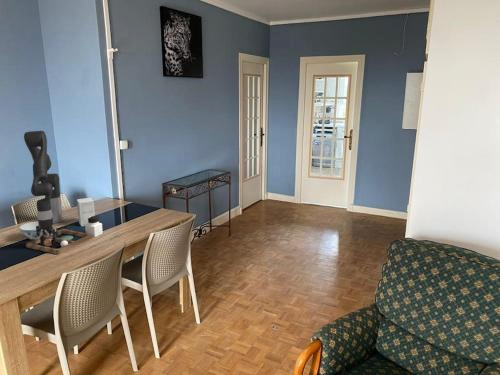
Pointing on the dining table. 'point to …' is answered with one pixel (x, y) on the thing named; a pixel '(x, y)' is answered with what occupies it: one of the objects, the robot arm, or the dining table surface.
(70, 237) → the felt pad
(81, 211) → the supplement box
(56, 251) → the dark wooden tray
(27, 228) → the chinaware
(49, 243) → the terracotta ball
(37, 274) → the dining table surface
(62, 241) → the off-white ball
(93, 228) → the medicine bottle
